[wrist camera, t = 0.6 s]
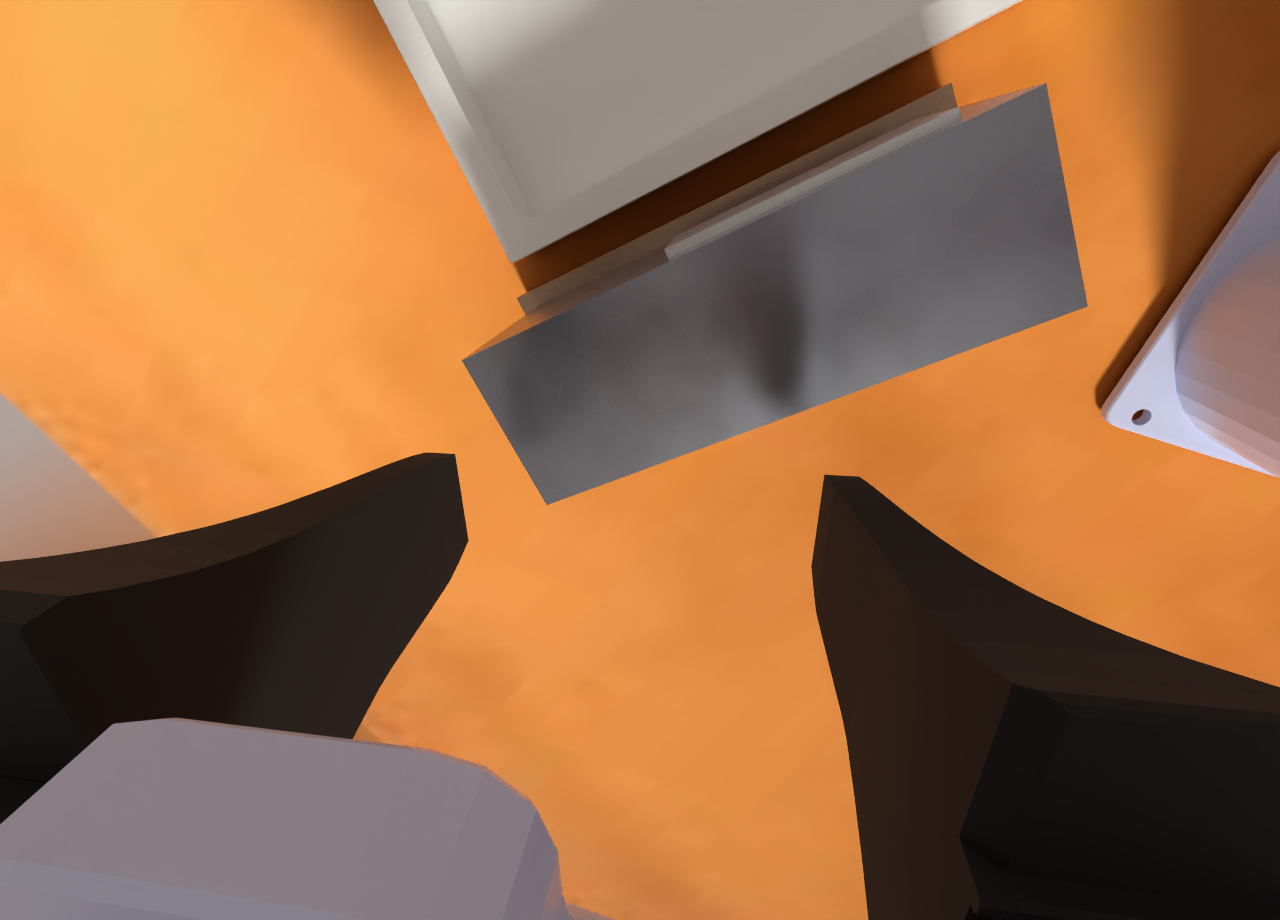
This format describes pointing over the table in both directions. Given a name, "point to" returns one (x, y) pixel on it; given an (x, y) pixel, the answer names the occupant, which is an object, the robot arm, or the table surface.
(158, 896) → the robot arm
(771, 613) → the table surface
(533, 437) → the mounted housing
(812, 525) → the table surface
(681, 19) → the tray
